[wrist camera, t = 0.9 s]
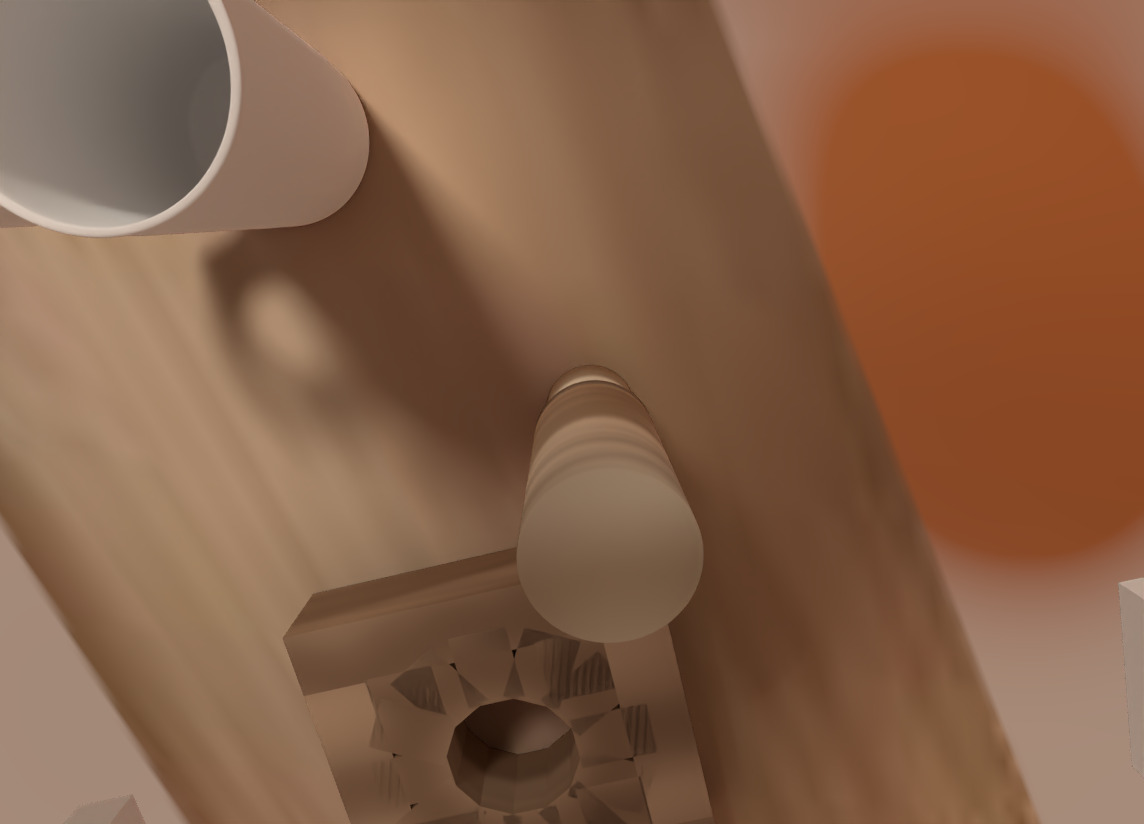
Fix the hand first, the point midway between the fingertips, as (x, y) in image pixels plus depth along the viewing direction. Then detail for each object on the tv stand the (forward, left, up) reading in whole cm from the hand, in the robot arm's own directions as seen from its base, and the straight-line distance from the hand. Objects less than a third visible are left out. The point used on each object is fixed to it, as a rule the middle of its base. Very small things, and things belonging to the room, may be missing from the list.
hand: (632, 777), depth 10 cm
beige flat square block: (+12, -6, -20) cm, 24 cm away
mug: (-12, -10, -21) cm, 26 cm away
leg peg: (0, 0, -20) cm, 20 cm away
